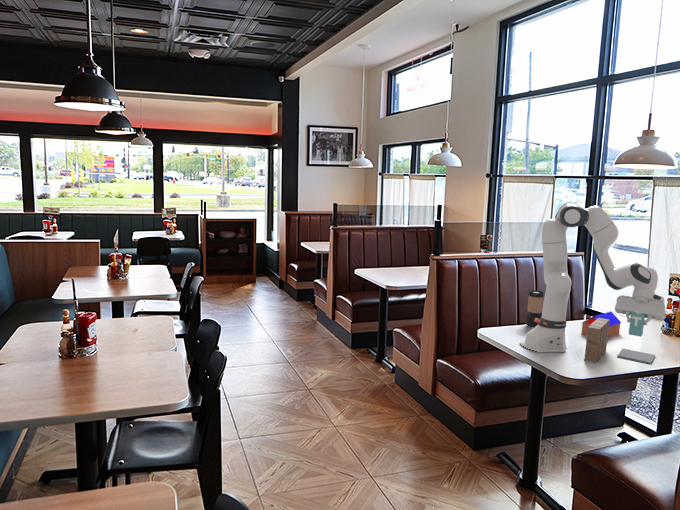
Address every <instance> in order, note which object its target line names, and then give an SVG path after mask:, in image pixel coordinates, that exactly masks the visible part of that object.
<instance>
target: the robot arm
mask: <svg viewBox="0 0 680 510" xmlns="http://www.w3.org/2000/svg"><path fill="white" fill-rule="evenodd" d="M580 226H585V228H586V229H587V231H588V232H589V234H590V235H591V237H592V240H593V244H592V249H593V252H594V255H595V257H596V259H597V261H598V264H599V266H600V268H601V270H602V273H603V275H604V279H605V282H606V284H607V286H609V287H610V289H613V290H615V291H620V290H622V289H625V288H627V287H631V286H633V288H634V289H633V291H632V295H631V296H629V295H627V296H626V295H619V296H617V297H616V302H615V305H614V312H616V313H617V314H620V315H621V314H622V315H625V317H626V322H627V323H630V318H631V313H632V311H633V312H634V311H636V312H642V313H645V318H646V319H645V320H644V322H643V325H644V326H648V323H649V322H651V321H652V320H658V321H663V320H665V318H666V304H665V298H664V297H663V296H661V295H658V294H656V293H655V291H656V290H657V287H658V283H659V280H658V279H659V278H658V277H659V276H658V275H659V274H658V272H657V271H656V270H655V269H654V268H652V267H649V266H644V265H642V264H640V263H638V262H633V263H629V264H627V265H623V266H621V267H616V266H615V265H614V263H613V261H612V259H611V256H610V253H609V249H610V247H612V245H613V244H614V243H615V242H616V241H617V239H618V236H619V229H618V227H617V225H616V224H615V223H614V221H613V220H612V218H611V217H610V215H609V214H608V213H607V212H606V211H605V210H604V209H603V208H602V207H601V206H599V205H593V206H589V207H588V208H583V207H581V206H580V205H579V204H577V203H574V202H567V203H566V202H565V203H564V204H562V205H561V206H560V207H559V208H558V211H557V213H556V214H555V217H554V218H551V219H547V220H546V221H544V222H543V224H542V229H541V243H542V244H541V245H542V256H543V264H542V265H543V281H544V283H545V293H544V296H543V303H542V314H541V318H540V319H538V318H535V322H537V323H538V325H537V326H536V327H535V328H532V329H531V330H530V331H528V332H527V333H526V335H525V340H522V341H520V342H519V345H520V344H521V345H522V346H521V345H520V346H521V347H523V346H524V347H523V348H525V347H526V348H525V349H527V348H528V349H527V350H529V349H531V350H530V351H532V350H534V351H533V352H535V351H537V352H536V353H562V352H564V353H565V352H567V351H566V350H567V344H566V327H567V319H566V318H567V310H568V309H567V308H568V302H569V299H570V293H571V290H572V289H571V288H572V285H573V284H572V278H571V277H570V275H569V274H568V259H569V256H568V255H569V254H568V244H567V230H568V228H577V227H580Z"/></svg>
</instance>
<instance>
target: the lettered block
mask: <svg viewBox="0 0 680 510" xmlns="http://www.w3.org/2000/svg"><path fill="white" fill-rule="evenodd" d="M644 320H646V319H645V313H642V312H636V311H634V312H633V311H632V313H631V315H630V322H629V328H628V335H630V336H636V337H642V336H643V335H644V334H643V333H644V328H645V327H644V326H645V325H643V322H644Z"/></svg>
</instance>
